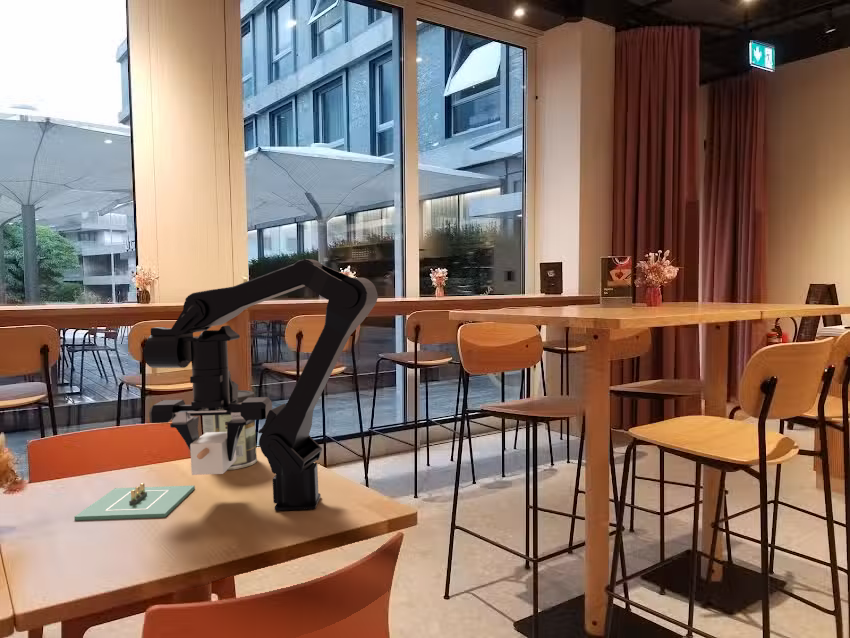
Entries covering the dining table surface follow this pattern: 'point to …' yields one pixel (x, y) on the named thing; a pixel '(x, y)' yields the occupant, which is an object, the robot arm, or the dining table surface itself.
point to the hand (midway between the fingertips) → (214, 461)
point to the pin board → (136, 503)
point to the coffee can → (246, 438)
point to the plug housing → (210, 454)
